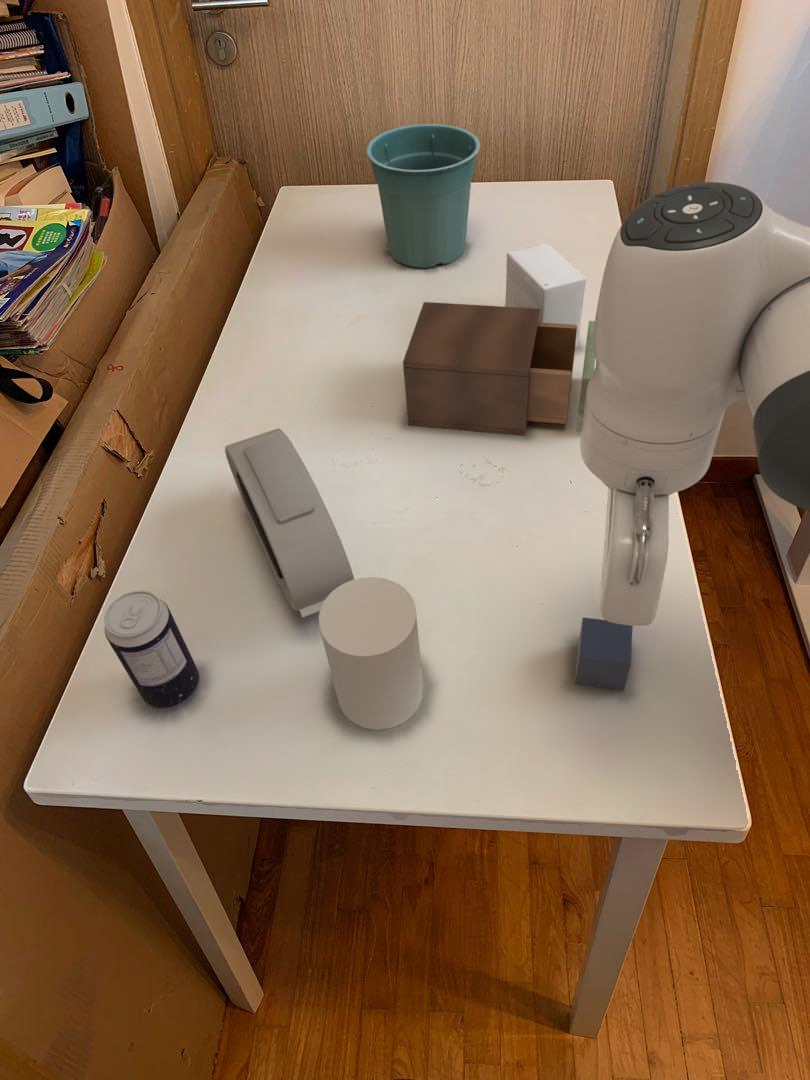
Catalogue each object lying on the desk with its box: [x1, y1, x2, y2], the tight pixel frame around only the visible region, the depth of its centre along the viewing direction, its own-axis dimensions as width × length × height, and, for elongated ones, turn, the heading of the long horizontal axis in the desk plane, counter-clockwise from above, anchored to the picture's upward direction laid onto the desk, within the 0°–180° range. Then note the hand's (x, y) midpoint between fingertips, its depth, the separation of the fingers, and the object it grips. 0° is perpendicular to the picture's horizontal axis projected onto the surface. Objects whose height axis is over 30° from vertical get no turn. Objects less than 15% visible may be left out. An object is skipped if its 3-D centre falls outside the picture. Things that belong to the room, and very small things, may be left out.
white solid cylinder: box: [318, 576, 425, 731], centre depth 73 cm, size 8×8×12 cm
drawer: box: [527, 320, 596, 432], centre depth 99 cm, size 18×11×8 cm, turn 78°
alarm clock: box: [224, 428, 355, 619], centre depth 84 cm, size 23×6×13 cm, turn 24°
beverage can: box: [103, 590, 200, 709], centre depth 74 cm, size 6×6×12 cm
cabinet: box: [402, 301, 540, 436], centre depth 101 cm, size 15×13×10 cm
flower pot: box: [366, 123, 481, 269], centre depth 124 cm, size 16×16×16 cm
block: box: [574, 617, 634, 692], centre depth 75 cm, size 4×4×4 cm
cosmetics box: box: [504, 242, 587, 349], centre depth 109 cm, size 10×6×10 cm, turn 22°
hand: (621, 563), depth 66 cm, fingers closed
